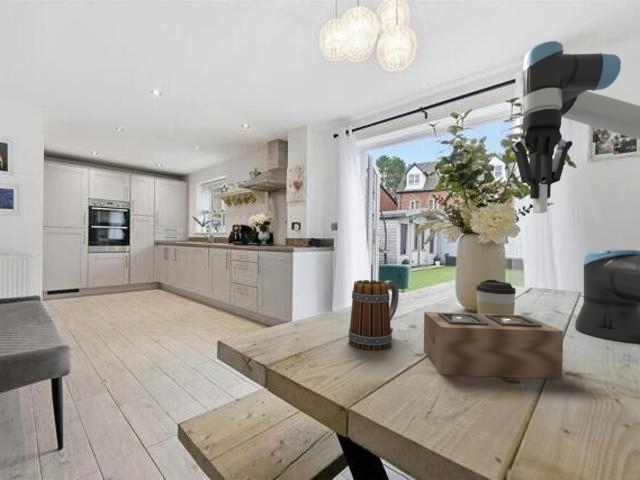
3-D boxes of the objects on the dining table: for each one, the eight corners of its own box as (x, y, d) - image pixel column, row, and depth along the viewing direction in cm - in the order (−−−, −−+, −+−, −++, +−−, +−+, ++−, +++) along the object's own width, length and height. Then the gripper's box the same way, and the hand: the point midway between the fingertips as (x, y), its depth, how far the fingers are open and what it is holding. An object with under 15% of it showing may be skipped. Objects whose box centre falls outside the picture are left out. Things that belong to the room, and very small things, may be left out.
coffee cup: (521, 346, 75) (522, 284, 75) (481, 343, 76) (482, 283, 76) (506, 334, 84) (507, 279, 83) (471, 332, 85) (471, 278, 85)
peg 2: (514, 356, 65) (515, 316, 65) (525, 363, 61) (525, 321, 61) (497, 356, 65) (497, 316, 65) (506, 363, 62) (507, 320, 62)
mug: (372, 354, 68) (373, 287, 68) (339, 341, 76) (340, 281, 76) (412, 340, 78) (413, 281, 78) (380, 330, 86) (380, 277, 86)
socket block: (523, 355, 69) (524, 313, 69) (562, 379, 57) (563, 328, 57) (423, 351, 70) (424, 310, 70) (440, 374, 58) (441, 325, 58)
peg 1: (466, 355, 66) (466, 315, 66) (473, 361, 62) (474, 319, 62) (449, 354, 66) (449, 314, 66) (455, 361, 62) (455, 319, 62)
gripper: (559, 119, 76) (557, 214, 77) (504, 120, 77) (503, 213, 78) (582, 106, 69) (580, 211, 69) (522, 107, 70) (520, 211, 70)
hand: (539, 212), depth 73 cm, fingers closed
